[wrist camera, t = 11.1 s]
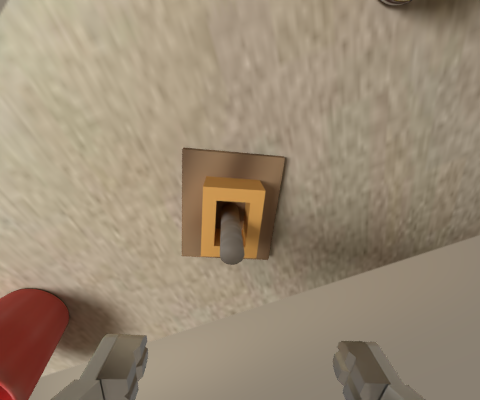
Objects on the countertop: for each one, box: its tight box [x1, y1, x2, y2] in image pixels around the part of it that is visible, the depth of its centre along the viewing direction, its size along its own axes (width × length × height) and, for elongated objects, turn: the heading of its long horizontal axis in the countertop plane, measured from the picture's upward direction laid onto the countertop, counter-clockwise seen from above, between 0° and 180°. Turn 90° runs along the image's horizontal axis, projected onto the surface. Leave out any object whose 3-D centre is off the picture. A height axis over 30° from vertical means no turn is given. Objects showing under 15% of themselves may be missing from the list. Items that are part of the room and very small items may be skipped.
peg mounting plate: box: [182, 148, 285, 265], centre depth 20 cm, size 10×12×9 cm
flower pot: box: [0, 289, 69, 400], centre depth 23 cm, size 11×11×10 cm
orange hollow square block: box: [201, 176, 265, 258], centre depth 22 cm, size 5×7×4 cm
